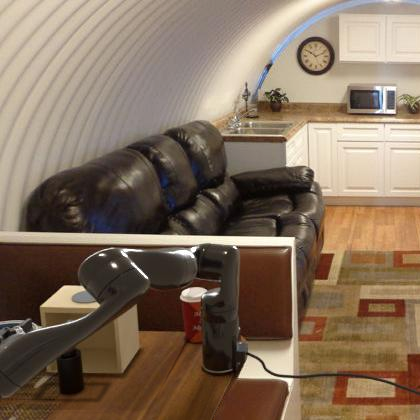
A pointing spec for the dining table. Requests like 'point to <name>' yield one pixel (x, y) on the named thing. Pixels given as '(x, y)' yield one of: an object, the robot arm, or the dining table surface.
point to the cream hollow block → (100, 341)
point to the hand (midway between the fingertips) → (50, 323)
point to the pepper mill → (70, 372)
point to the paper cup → (192, 313)
